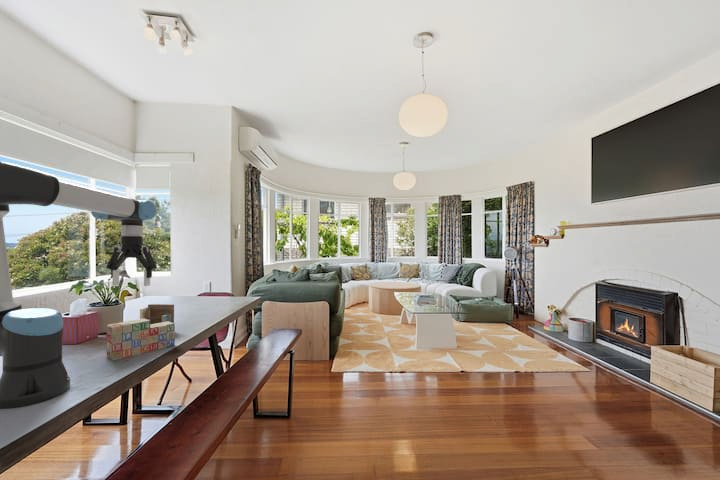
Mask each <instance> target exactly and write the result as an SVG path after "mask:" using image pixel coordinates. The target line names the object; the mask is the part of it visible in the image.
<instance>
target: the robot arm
mask: <svg viewBox="0 0 720 480" xmlns="http://www.w3.org/2000/svg"><path fill="white" fill-rule="evenodd" d="M10 205H31V206H38V207H39V206H40V207H48V206H51V205H54V206H60V207H65V208H71V209H77V210H82V211H88V212H90V214H91V216H92V217H93V218H95V219H98V220H103V221H116V222H118V221H120V225H121V227H120V228H121V230H120V232H121V233H120V234H121V237H120V244H121V246H114V247H113V253H112V255H111V256H110V259H109V261H108V263H107V264H106V269H107V270H110V271H111V272H110V276H111V278H112V280H111V281H112V285H111V286H113V287H115V286H120V269H119V268H120V267H121V266H122V264H123V263H124V262H125V261H126V259H128V258H133V259H134V258H135V259H137V260H138V262H139V263H140V264H141V265H142V267H143V268H144V269H145V270H143V287H147V286H148V287H149V286H151V278H152V277H153V270H156V269H157V268H158V266H157V264H156V262H155V260H154V258H153V256H152V254H151V250H150V247H149V246H144V247H143V244H144V243H143V239H144V238H143V235H144V232H143V230H144V221H150V220H152V219H154V218H155V217H156V215H157V206H156V205H155V203H154V202H152V200H147V199H145V200H144V199H142V200H141V199H135V198H131V197H127V196H122V195H118V194H114V193H110V192H107V191H103V190H99V189H95V188H91V187H88V186H84V185H80V184H75V183H72V182H68V181H64V180H60V179H59V178H58V176H55V174H52V173H51V174H50V173H47V172H43V171H40V170H37V169H34V168H30V167H26V166H21V165H19V164H14V163H11V162H5V161H0V357H2V371H1V372H2V373H1V375H0V409H10V408H19V407H25V406H29V405H32V404H36V403H40V402H44V401H47V400H50V399H53V398H55V397H57V396H60V395H62V394H64V393H65V392H66V391H68V390H69V389H70V387H71V377H70V376H69V375H68V372H67V369H66V367H65V364H64V362H63V343H64V342H63V341H64V340H63V339H64V338H63V337H64V336H63V334H64V332H63V331H64V320H63V314H62V313H61V312H60V311H59V310H56V309H53V308H47V307H42V308H41V307H40V308H36V307H34V308H29V307H28V308H23V306H22V302H20V301H18V300H16V299H14V296H13V289H12V282H11V281H12V280H11V274H10V266H9V259H8V250H7V243H6V234H5V228H4V220H3V218H4V217H5V216H6V215H7V214H9V213H10Z"/></svg>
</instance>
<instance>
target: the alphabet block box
mask: <svg viewBox="0 0 720 480" xmlns="http://www.w3.org/2000/svg"><path fill="white" fill-rule="evenodd" d="M143 318H144V319H147V320H150V324H156V323H162V322H167V321H169V322H172V323H175V304H169V303H168V304H166V303H165V304H164V303H163V304H160V303H159V304H158V303H156V304H155V303H150V304H147V306H146V307H141V308H139V319H143Z"/></svg>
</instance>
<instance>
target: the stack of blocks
mask: <svg viewBox="0 0 720 480" xmlns="http://www.w3.org/2000/svg"><path fill="white" fill-rule="evenodd" d="M175 324H176V323H175V322H174V323H172V322H169V321H167V322H162V323H156V324H150V320H147V319H144V318H143V319H140V318H138V319H131V320H126V321H123V322H117V323H116V322H115V323H110V324H107V325H106V358H108V359H109V360H110V361H115V360H121V359H124V358H129V357H132V356H137V355H141V354H145V353H148V352H152V351H156V350H160V349H161V350H162V349H165V348H168V347H169V348H170V347H172V346H175V341H176V340H175V339H176V331H175V328H176V327H175Z"/></svg>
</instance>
